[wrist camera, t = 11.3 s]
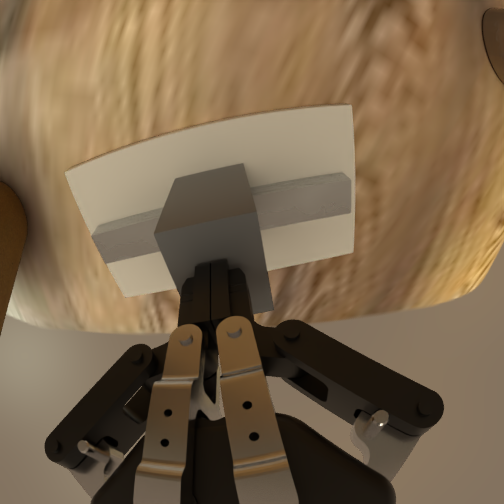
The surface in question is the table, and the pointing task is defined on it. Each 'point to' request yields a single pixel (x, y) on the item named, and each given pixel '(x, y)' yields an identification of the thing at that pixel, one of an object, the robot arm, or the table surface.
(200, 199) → the block
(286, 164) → the mounting plate
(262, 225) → the rail
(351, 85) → the table surface
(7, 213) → the plant pot
